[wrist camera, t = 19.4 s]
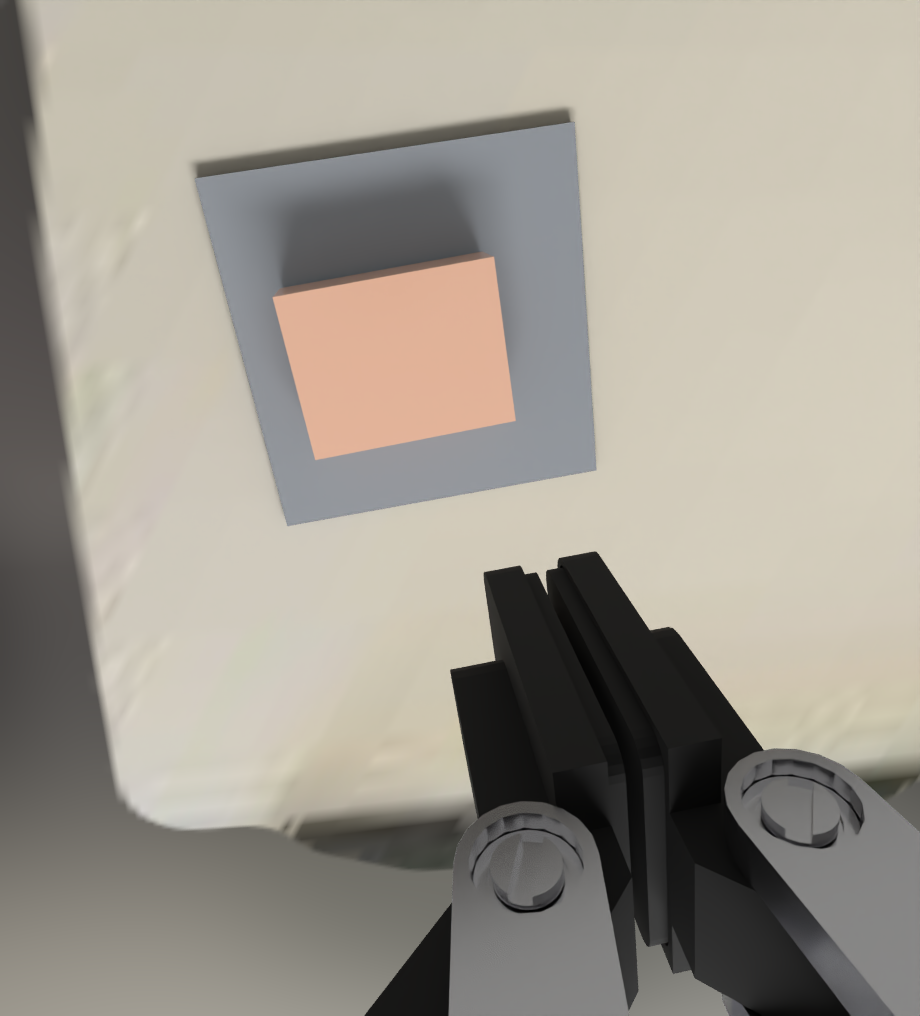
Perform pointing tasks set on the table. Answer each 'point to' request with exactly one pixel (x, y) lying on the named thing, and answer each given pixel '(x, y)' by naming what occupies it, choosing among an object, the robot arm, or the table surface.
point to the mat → (403, 241)
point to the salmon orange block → (398, 353)
